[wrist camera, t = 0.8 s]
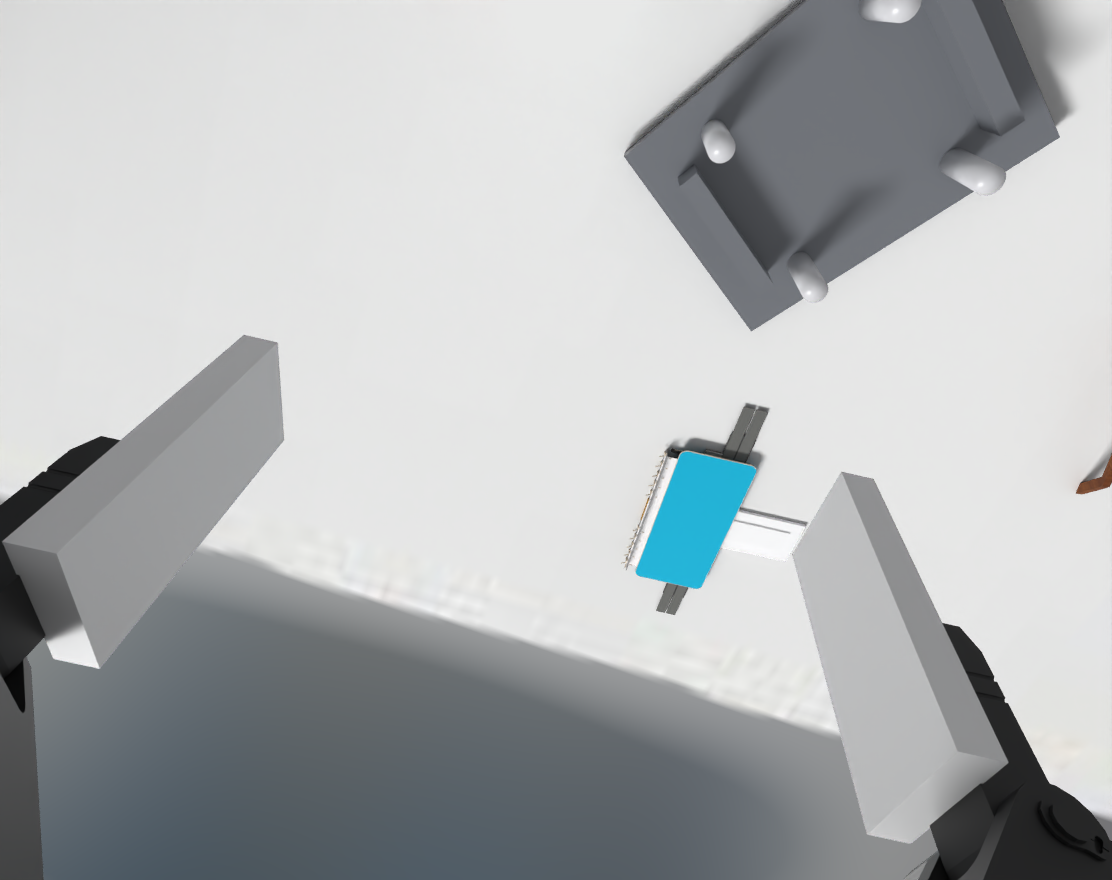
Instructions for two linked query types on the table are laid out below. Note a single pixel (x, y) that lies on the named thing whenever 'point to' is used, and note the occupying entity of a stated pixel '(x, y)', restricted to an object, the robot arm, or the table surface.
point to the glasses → (1097, 481)
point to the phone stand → (705, 516)
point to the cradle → (841, 141)
